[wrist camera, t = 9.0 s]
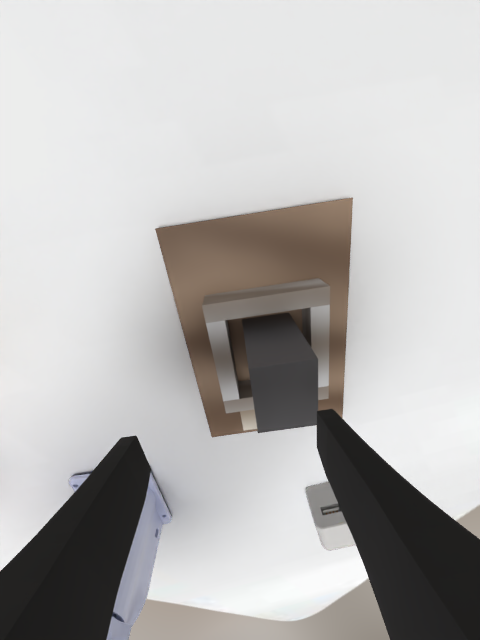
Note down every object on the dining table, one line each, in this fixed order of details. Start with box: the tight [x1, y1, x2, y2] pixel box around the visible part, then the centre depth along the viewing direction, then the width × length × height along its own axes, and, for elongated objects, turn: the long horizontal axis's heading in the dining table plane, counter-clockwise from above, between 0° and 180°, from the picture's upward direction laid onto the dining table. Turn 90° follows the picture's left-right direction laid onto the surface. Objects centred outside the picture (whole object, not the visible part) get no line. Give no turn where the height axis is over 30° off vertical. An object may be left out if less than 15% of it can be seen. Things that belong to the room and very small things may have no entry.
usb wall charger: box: [306, 482, 356, 551], centre depth 26 cm, size 4×7×4 cm, turn 17°
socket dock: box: [155, 198, 353, 437], centre depth 17 cm, size 18×12×3 cm, turn 8°
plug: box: [242, 313, 318, 433], centre depth 15 cm, size 4×3×6 cm
